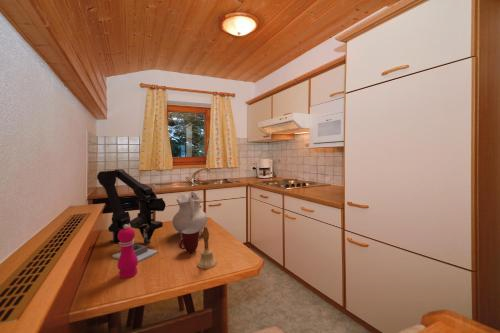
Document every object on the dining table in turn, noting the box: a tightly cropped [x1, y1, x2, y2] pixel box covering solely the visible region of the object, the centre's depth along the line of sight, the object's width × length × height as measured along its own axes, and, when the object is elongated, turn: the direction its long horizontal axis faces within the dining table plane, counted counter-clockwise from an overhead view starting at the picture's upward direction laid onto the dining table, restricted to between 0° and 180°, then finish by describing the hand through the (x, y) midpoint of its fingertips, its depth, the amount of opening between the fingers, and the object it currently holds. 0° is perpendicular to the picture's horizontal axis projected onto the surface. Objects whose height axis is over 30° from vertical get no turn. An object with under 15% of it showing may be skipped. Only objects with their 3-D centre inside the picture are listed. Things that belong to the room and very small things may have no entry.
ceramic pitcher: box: [172, 191, 208, 238], centre depth 135 cm, size 22×20×25 cm
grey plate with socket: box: [112, 243, 159, 264], centre depth 110 cm, size 16×12×4 cm
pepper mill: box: [116, 224, 139, 279], centre depth 92 cm, size 7×7×20 cm
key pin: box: [142, 227, 151, 245], centre depth 125 cm, size 3×3×8 cm
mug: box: [178, 228, 200, 254], centre depth 112 cm, size 10×8×10 cm
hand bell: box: [196, 226, 218, 270], centre depth 100 cm, size 8×8×16 cm
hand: (146, 239), depth 126 cm, fingers closed on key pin, 3 cm apart
